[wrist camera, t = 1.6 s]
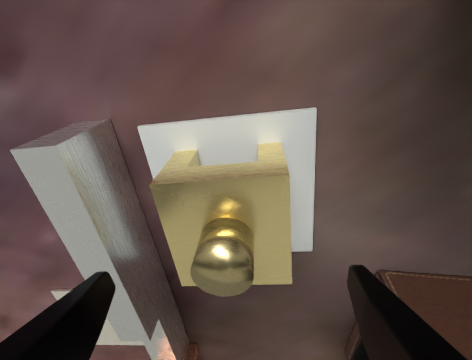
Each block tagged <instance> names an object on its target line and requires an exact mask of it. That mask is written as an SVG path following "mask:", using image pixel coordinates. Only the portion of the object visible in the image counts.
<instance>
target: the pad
mask: <svg viewBox="0 0 472 360" xmlns="http://www.w3.org/2000/svg"><path fill="white" fill-rule="evenodd" d="M316 115H317V108H316V107H313V108H304V109H294V110H284V111H275V112H265V113H255V114H246V115H236V116H226V117H217V118H207V119H197V120H188V121H178V122H168V123H159V124H149V125H140V126H138V127H137V128H138V131H139V134H140V138H141V141H142V144H143V147H144V150H145V154H146V157H147V160H148V163H149V167H150V170H151V173H152V176H153V179H154V178H155V177H156V176H157V175H158V173H159V172H160V171H161V169H162V168H163V167H164V166H165V164H166V163H167V162H168V160H169V159H170V158H171V157H172V155H173V154H174V153H175V151H185V150H198V155H199V160H200V165H201V166H208V165H220V164H233V163H245V162H258V144H265V143H276V142H281V143H282V147H283V151H284V155H285V159H286V162H287V166H288V170H289V174H290V211H291V252H299V251H312V249H313V216H314V182H315V148H316Z"/></svg>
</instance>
